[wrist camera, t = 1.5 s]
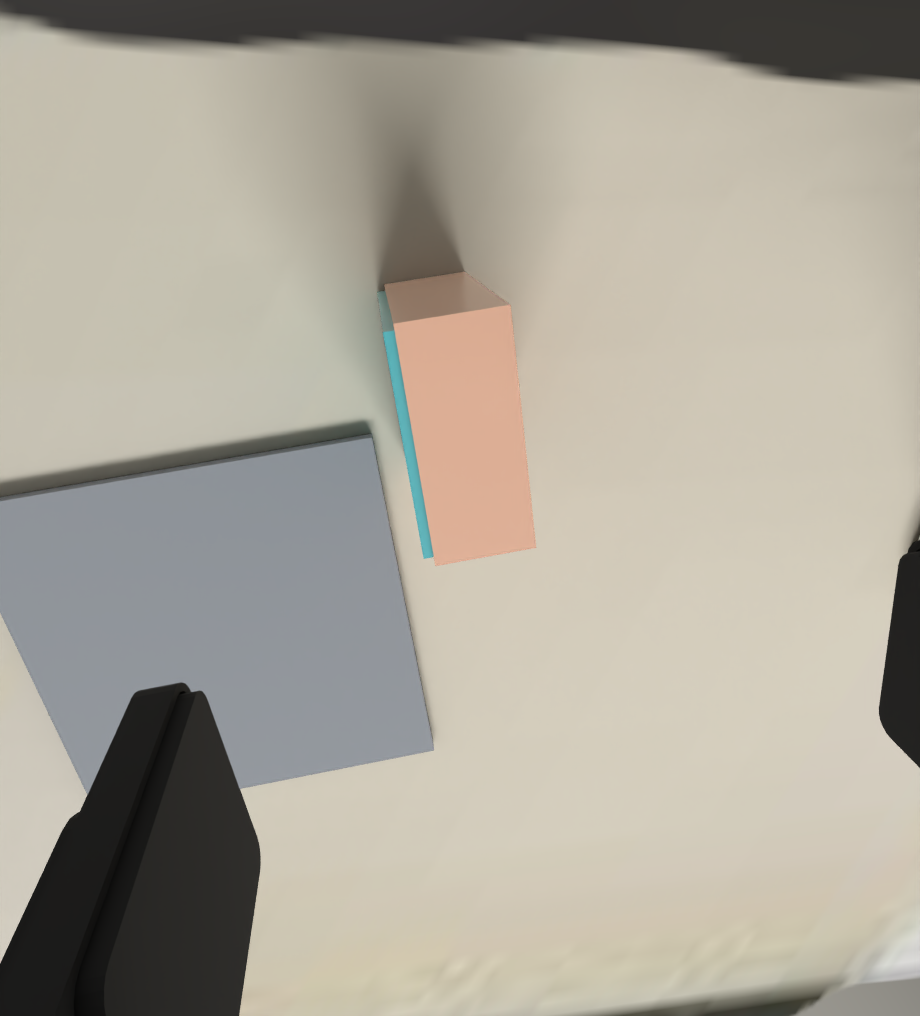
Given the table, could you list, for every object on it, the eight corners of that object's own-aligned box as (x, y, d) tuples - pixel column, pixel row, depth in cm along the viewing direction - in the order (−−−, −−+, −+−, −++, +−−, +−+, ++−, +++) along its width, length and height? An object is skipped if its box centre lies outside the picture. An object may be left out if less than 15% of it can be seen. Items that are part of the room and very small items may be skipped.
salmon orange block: (464, 271, 26) (510, 305, 18) (487, 449, 29) (536, 547, 21) (376, 285, 26) (381, 325, 18) (407, 463, 29) (425, 567, 21)
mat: (371, 433, 28) (371, 437, 28) (433, 743, 35) (434, 750, 34) (-43, 504, 27) (-50, 509, 27) (101, 808, 34) (98, 817, 33)
